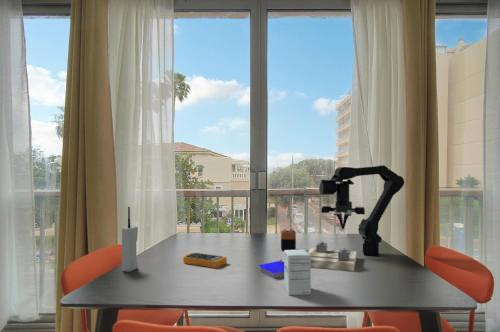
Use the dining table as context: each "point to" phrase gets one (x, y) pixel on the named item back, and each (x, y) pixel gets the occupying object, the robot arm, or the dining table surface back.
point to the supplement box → (297, 272)
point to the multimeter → (204, 260)
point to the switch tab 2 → (344, 254)
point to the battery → (288, 240)
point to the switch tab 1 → (321, 247)
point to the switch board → (332, 260)
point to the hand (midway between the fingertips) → (343, 228)
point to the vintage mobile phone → (129, 246)
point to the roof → (273, 269)
